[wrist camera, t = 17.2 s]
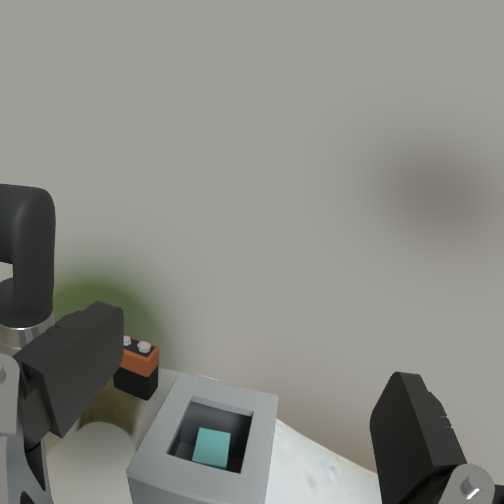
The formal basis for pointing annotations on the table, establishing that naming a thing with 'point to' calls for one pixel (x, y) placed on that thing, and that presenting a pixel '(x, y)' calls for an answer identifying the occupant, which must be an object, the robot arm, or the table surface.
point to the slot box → (184, 440)
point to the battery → (138, 368)
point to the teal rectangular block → (211, 448)
